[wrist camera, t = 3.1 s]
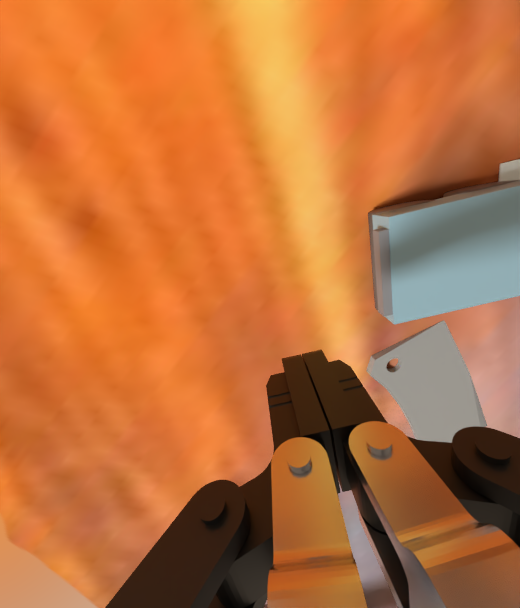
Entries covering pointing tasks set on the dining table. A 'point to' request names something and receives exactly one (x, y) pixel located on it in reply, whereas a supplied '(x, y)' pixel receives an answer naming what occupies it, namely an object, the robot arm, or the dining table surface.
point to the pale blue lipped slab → (446, 251)
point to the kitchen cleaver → (430, 384)
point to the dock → (509, 171)
